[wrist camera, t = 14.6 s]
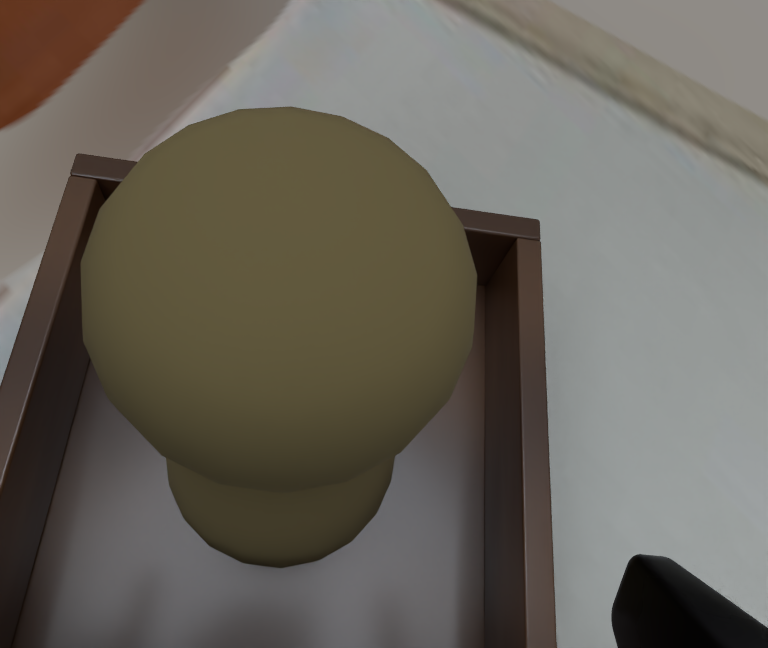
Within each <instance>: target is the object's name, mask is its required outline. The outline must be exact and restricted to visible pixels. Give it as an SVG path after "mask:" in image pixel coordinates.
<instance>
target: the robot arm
mask: <svg viewBox="0 0 768 648" xmlns="http://www.w3.org/2000/svg"><path fill="white" fill-rule="evenodd" d="M612 627H613V631H614V635H615V639H616V643H617V646H618V648H768V628H767V627H766V626H764V625H763V624H761V623H760V622H759V621H757V620H756V619H754V618H753V617H752V616H750V615H749V614H747V613H746V612H745V611H743V610H742V609H740V608H739V607H738V606H736V605H735V604H733V603H732V602H731V601H729V600H728V599H726V598H725V597H723V596H722V595H721V594H719V593H718V592H716V591H715V590H714V589H712V588H711V587H709V586H708V585H707V584H705V583H704V582H702V581H701V580H700V579H698V578H697V577H695V576H694V575H693V574H691V573H690V572H688V571H687V570H686V569H684V568H683V567H681V566H680V565H679V564H677V563H676V562H674V561H673V560H671V559H670V558H667V557H663V556H653V555H642V554H638V555H635V556H633V557H632V558H631V559H630V560H629V562H628V564H627V567H626V570H625V573H624V575H623V578H622V581H621V584H620V586H619V589H618V592H617V595H616V598H615V600H614V603H613V607H612Z"/></svg>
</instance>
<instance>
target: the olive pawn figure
mask: <svg viewBox="0 0 768 648" xmlns="http://www.w3.org/2000/svg"><path fill="white" fill-rule="evenodd" d="M476 287H477V272H476V269H475V265H474V262H473V258H472V255H471V251H470V248H469V244H468V241H467V237H466V234H465V230H464V227H463V224H462V223H461V221H460V220H459V218H458V217H457V215H456V214H455V212H454V211H453V209H452V208H451V206H450V205H449V203H448V202H447V200H446V199H445V197H444V196H443V194H442V193H441V191H440V190H439V188H438V187H437V185H436V184H435V182H434V181H433V179H432V178H431V176H430V175H429V173H428V172H427V170H426V169H424V168H423V167H422V166H421V165H420V164H419V163H417V162H416V161H415V160H414V159H413V158H411V157H410V156H409V155H408V154H407V153H405V152H404V151H403V150H402V149H401V148H399V147H398V146H397V145H396V144H395V143H393V142H392V141H391V140H390V139H389V138H387V137H385V136H383V135H381V134H378V133H376V132H374V131H372V130H370V129H368V128H366V127H363V126H361V125H359V124H357V123H355V122H353V121H351V120H348V119H346V118H344V117H342V116H337V115H332V114H326V113H321V112H316V111H311V110H306V109H301V108H295V107H275V108H256V109H239V110H235V111H232V112H229V113H226V114H223V115H219V116H216V117H213V118H210V119H207V120H204V121H200V122H197V123H194V124H191V125H188V126H187V127H185V128H184V129H182V130H181V131H179V132H177V133H176V134H174V135H173V136H171V137H170V138H168V139H167V140H165V141H164V142H162V143H161V144H159V145H158V146H156V147H155V148H153V149H151V150H150V151H148V152H147V153H145V154H144V155H143V157H142V158H141V159H140V160H139V161H138V163H137V164H136V165H135V166H134V167H133V169H132V170H131V171H130V172H129V174H128V175H127V176H126V177H125V178H124V180H123V181H122V182H121V183H120V185H119V186H118V187H117V188H116V189H115V191H114V192H113V193H112V194H111V196H110V197H109V198H108V199H107V201H106V202H105V203H104V204H103V205H102V207H101V208H100V209H99V212H98V215H97V218H96V220H95V223H94V226H93V229H92V232H91V234H90V237H89V240H88V243H87V245H86V248H85V251H84V254H83V257H82V259H81V300H82V329H83V342H84V344H85V347H86V349H87V351H88V354H89V356H90V359H91V361H92V363H93V366H94V368H95V370H96V373H97V375H98V377H99V380H100V382H101V384H102V387H103V389H104V392H105V394H106V396H107V398H108V399H109V401H110V402H111V403H112V404H113V405H114V406H115V407H116V408H117V409H118V410H119V412H120V413H121V414H122V415H123V416H124V417H125V418H126V419H127V420H128V421H129V422H130V423H131V424H132V425H133V426H134V427H135V428H136V429H137V430H138V431H139V432H140V433H141V434H142V436H143V437H144V438H145V439H146V440H147V441H148V442H149V443H150V444H151V445H152V446H153V447H154V448H155V449H156V450H157V451H158V452H159V453H160V454H161V455H162V456H164V457H166V464H167V473H168V482H169V487H170V489H171V491H172V493H173V496H174V498H175V500H176V503H177V505H178V507H179V509H180V512H181V514H182V516H183V519H184V520H185V521H186V522H187V523H188V524H189V525H190V526H191V527H192V528H193V529H194V531H195V532H196V533H197V534H198V535H199V536H200V537H201V538H202V539H203V540H204V541H205V542H206V543H207V544H208V545H209V546H210V547H212V548H214V549H216V550H218V551H220V552H222V553H224V554H226V555H228V556H230V557H232V558H234V559H236V560H238V561H240V562H241V563H244V564H252V565H260V566H267V567H275V568H285V567H290V566H295V565H300V564H305V563H310V562H315V561H319V560H321V559H323V558H324V557H326V556H328V555H329V554H331V553H333V552H335V551H336V550H338V549H340V548H342V547H343V546H345V545H347V544H349V543H350V542H352V541H353V540H354V539H355V537H356V536H357V535H358V534H359V533H360V532H361V531H362V530H363V529H364V527H365V526H366V525H367V524H368V523H369V522H370V521H371V520H372V519H373V517H374V516H375V515H376V514H377V512H378V510H379V507H380V505H381V503H382V501H383V498H384V496H385V494H386V492H387V489H388V487H389V485H390V483H391V479H392V472H393V466H394V460H395V455H397V454H399V453H401V452H402V451H403V449H404V448H405V447H406V446H407V445H408V444H409V443H410V442H411V441H412V440H413V439H414V438H415V436H416V435H417V434H418V433H419V432H420V431H421V430H422V429H423V428H424V427H425V426H426V425H427V424H428V422H429V421H430V420H431V419H432V418H433V417H434V416H435V415H436V414H437V413H438V412H439V411H440V409H441V408H442V407H443V406H444V405H445V404H446V403H447V402H448V400H449V399H450V398H451V395H452V393H453V391H454V388H455V386H456V384H457V381H458V379H459V377H460V374H461V372H462V370H463V367H464V365H465V363H466V360H467V358H468V356H469V353H470V351H471V349H472V344H473V334H474V321H475V304H476Z"/></svg>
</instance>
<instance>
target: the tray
mask: <svg viewBox="0 0 768 648" xmlns="http://www.w3.org/2000/svg"><path fill="white" fill-rule="evenodd" d="M137 163H138V162H134V161H127V160H120V159H113V158H106V157H100V156H93V155H86V154H77V155H76V157H75V160H74V163H73V167H72V169H71V173H70V174H71V176H70V177H69V179H68V182H67V185H66V188H65V191H64V194H63V197H62V200H61V203H60V206H59V209H58V212H57V215H56V218H55V222H54V224H53V227H52V230H51V234H50V237H49V240H48V243H47V246H46V249H45V252H44V255H43V258H42V261H41V264H40V267H39V270H38V273H37V276H36V279H35V282H34V285H33V288H32V291H31V294H30V298H29V301H28V304H27V307H26V310H25V313H24V316H23V319H22V322H21V325H20V328H19V331H18V334H17V337H16V340H15V343H14V346H13V349H12V352H11V355H10V358H9V362H8V365H7V368H6V371H5V374H4V377H3V380H2V383H1V386H0V648H557V642H556V616H555V591H554V565H553V540H552V515H551V489H550V464H549V439H548V413H547V388H546V363H545V337H544V312H543V287H542V261H541V242H540V222H539V220H537V219H530V218H523V217H516V216H509V215H502V214H495V213H488V212H481V211H474V210H467V209H460V208H453V207H451V208H452V209H453V211H454V212H455V214H456V215H457V217H458V218H459V220H460V221H461V223H462V224H463V227H464V230H465V234H466V237H467V241H468V244H469V248H470V251H471V255H472V258H473V262H474V265H475V269H476V272H477V287H476V304H475V321H474V334H473V344H472V349H471V351H470V353H469V356H468V358H467V360H466V363H465V365H464V367H463V370H462V372H461V374H460V377H459V379H458V381H457V384H456V386H455V388H454V391H453V393H452V395H451V398H450V399H449V400H448V402H447V403H446V404H445V405H444V406H443V407H442V408H441V409H440V411H439V412H438V413H437V414H436V415H435V416H434V417H433V418H432V419H431V420H430V421H429V422H428V424H427V425H426V426H425V427H424V428H423V429H422V430H421V431H420V432H419V433H418V434H417V435H416V436H415V438H414V439H413V440H412V441H411V442H410V443H409V444H408V445H407V446H406V447H405V448H404V449H403V451H402V452H401V453H399V454H397V455H395V460H394V466H393V472H392V479H391V483H390V485H389V487H388V489H387V492H386V494H385V496H384V498H383V501H382V503H381V505H380V507H379V510H378V512H377V514H376V515H375V516H374V517H373V519H372V520H371V521H370V522H369V523H368V524H367V525H366V526H365V527H364V529H363V530H362V531H361V532H360V533H359V534H358V535H357V536H356V537H355V539H354V540H353V541H352V542H350V543H349V544H347V545H345V546H343V547H342V548H340V549H338V550H336V551H335V552H333V553H331V554H329V555H328V556H326V557H324V558H323V559H321V560H319V561H315V562H310V563H305V564H300V565H295V566H290V567H285V568H275V567H267V566H260V565H252V564H244V563H241V562H240V561H238V560H236V559H234V558H232V557H230V556H228V555H226V554H224V553H222V552H220V551H218V550H216V549H214V548H212V547H210V546H209V545H208V544H207V543H206V542H205V541H204V540H203V539H202V538H201V537H200V536H199V535H198V534H197V533H196V532H195V531H194V529H193V528H192V527H191V526H190V525H189V524H188V523H187V522H186V521H185V520H184V519H183V516H182V514H181V512H180V509H179V507H178V505H177V503H176V500H175V498H174V496H173V493H172V491H171V489H170V487H169V482H168V473H167V464H166V457H164V456H162V455H161V454H160V453H159V452H158V451H157V450H156V449H155V448H154V447H153V446H152V445H151V444H150V443H149V442H148V441H147V440H146V439H145V438H144V437H143V436H142V434H141V433H140V432H139V431H138V430H137V429H136V428H135V427H134V426H133V425H132V424H131V423H130V422H129V421H128V420H127V419H126V418H125V417H124V416H123V415H122V414H121V413H120V412H119V410H118V409H117V408H116V407H115V406H114V405H113V404H112V403H111V402H110V401H109V399H108V398H107V396H106V394H105V392H104V389H103V387H102V384H101V382H100V380H99V377H98V375H97V373H96V370H95V368H94V366H93V363H92V361H91V359H90V356H89V354H88V351H87V349H86V347H85V344H84V342H83V329H82V300H81V259H82V257H83V254H84V251H85V248H86V245H87V243H88V240H89V237H90V234H91V232H92V229H93V226H94V223H95V220H96V218H97V215H98V212H99V209H100V208H101V207H102V205H103V204H104V203H105V202H106V201H107V199H108V198H109V197H110V196H111V194H112V193H113V192H114V191H115V189H116V188H117V187H118V186H119V185H120V183H121V182H122V181H123V180H124V178H125V177H126V176H127V175H128V174H129V172H130V171H131V170H132V169H133V167H134V166H135V165H136V164H137Z"/></svg>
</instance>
